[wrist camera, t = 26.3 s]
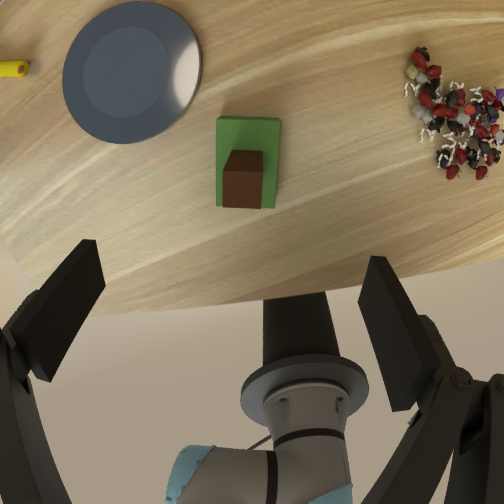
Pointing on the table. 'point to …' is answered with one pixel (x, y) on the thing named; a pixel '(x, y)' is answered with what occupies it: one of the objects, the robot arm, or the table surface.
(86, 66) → the plate
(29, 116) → the table surface
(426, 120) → the dark lumpy cluster
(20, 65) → the fruit
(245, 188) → the sponge brush
